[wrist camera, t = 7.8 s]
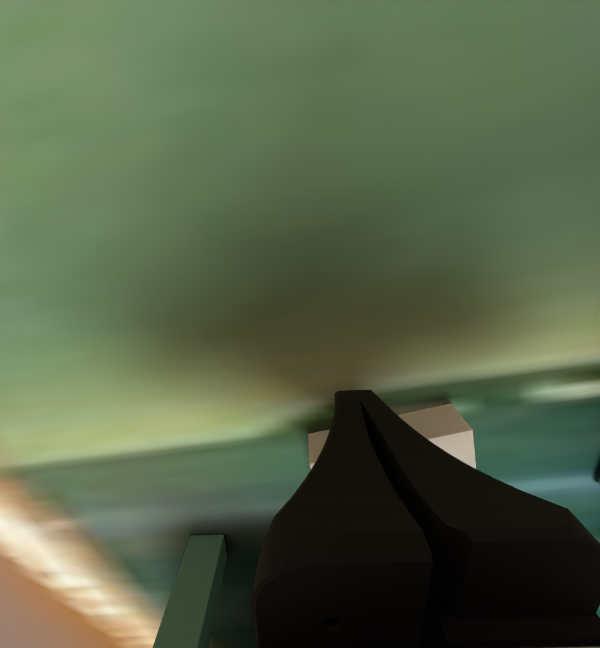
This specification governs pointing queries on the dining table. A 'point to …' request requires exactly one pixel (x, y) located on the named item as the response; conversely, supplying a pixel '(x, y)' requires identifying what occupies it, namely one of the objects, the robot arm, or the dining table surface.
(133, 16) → the dining table surface
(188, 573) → the shelf
